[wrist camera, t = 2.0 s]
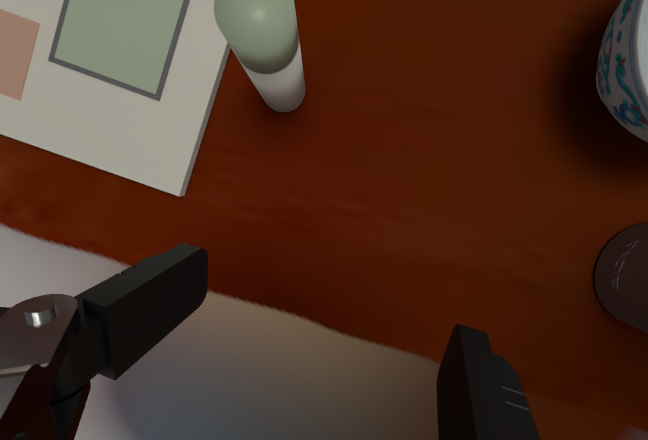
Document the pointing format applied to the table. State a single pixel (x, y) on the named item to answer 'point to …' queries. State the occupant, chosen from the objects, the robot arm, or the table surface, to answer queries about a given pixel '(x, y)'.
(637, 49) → the chinaware
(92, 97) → the picture board
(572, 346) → the table surface
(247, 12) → the marker
